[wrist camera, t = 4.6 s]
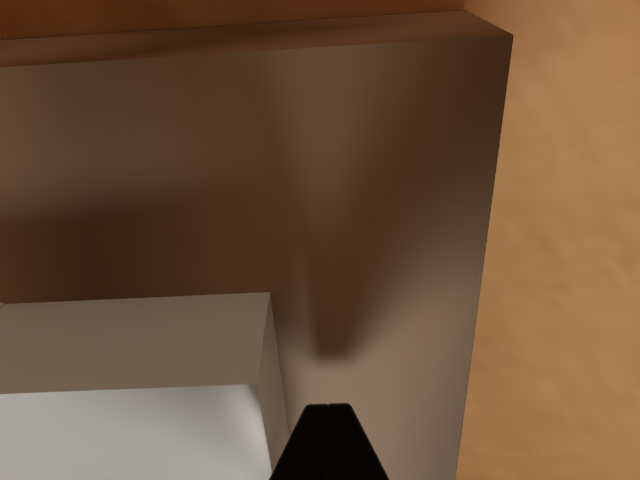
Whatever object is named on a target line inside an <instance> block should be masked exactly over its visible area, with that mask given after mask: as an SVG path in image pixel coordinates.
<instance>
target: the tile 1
mask: <svg viewBox="0 0 640 480" xmlns="http://www.w3.org/2000/svg"><path fill="white" fill-rule="evenodd" d="M289 438H290V436H289V428H288V421H287V414H286V406H285V399H284V392H283V384H282V377H281V370H280V363H279V355H278V348H277V341H276V333H275V326H274V319H273V311H272V304H271V297H270V292H260V293H238V294H216V295H194V296H172V297H150V298H128V299H105V300H83V301H61V302H39V303H17V304H5V305H4V306H3V307H2V308H1V309H0V480H269V478H270V476H271V474H272V472H273V470H274V468H275V466H276V464H277V462H278V460H279V458H280V456H281V454H282V452H283V450H284V448H285V446H286V444H287V442H288V440H289Z"/></svg>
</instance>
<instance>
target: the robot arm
mask: <svg viewBox="0 0 640 480" xmlns="http://www.w3.org/2000/svg"><path fill="white" fill-rule="evenodd" d="M269 480H389V478H388V476H387V474H386V472H385V470H384V468H383V466H382V464H381V462H380V460H379V458H378V456H377V454H376V452H375V450H374V449H373V447H372V445H371V443H370V441H369V439H368V437H367V435H366V433H365V431H364V429H363V427H362V425H361V423H360V421H359V419H358V417H357V415H356V413H355V412H354V410H353V408H352V406H351V405H350V404H349V403H330V404H326V403H323V404H308V405H306V406H305V408H304V409H303V411H302V413H301V415H300V417H299V419H298V422H297V424H296V426H295V428H294V430H293V432H292V434H291V436H290V438H289V440H288V442H287V444H286V446H285V448H284V450H283V452H282V454H281V456H280V458H279V460H278V462H277V464H276V466H275V468H274V470H273V472H272V474H271V476H270V478H269Z"/></svg>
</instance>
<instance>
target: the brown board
mask: <svg viewBox="0 0 640 480" xmlns="http://www.w3.org/2000/svg"><path fill="white" fill-rule="evenodd" d="M512 43H513V35H512V34H511V33H509V32H507V31H505V30H503V29H501V28H499V27H497V26H495V25H493V24H491V23H489V22H487V21H485V20H483V19H481V18H479V17H477V16H475V15H473V14H471V13H469V12H467V11H465V10H457V11H442V12H426V13H411V14H395V15H380V16H364V17H349V18H333V19H318V20H303V21H287V22H272V23H256V24H241V25H225V26H210V27H194V28H179V29H164V30H148V31H133V32H117V33H102V34H86V35H71V36H55V37H40V38H24V39H9V40H0V303H3V302H4V304H17V303H39V302H61V301H83V300H105V299H128V298H150V297H172V296H194V295H216V294H238V293H260V292H270V297H271V304H272V311H273V319H274V326H275V333H276V341H277V348H278V355H279V363H280V370H281V377H282V384H283V392H284V399H285V406H286V414H287V421H288V428H289V436H291V434H292V432H293V430H294V428H295V426H296V424H297V422H298V419H299V417H300V415H301V413H302V411H303V409H304V408H305V406H306V405H308V404H323V403H326V404H330V403H349V404H350V405H351V406H352V408H353V410H354V412H355V413H356V415H357V417H358V419H359V421H360V423H361V425H362V427H363V429H364V431H365V433H366V435H367V437H368V439H369V441H370V443H371V445H372V447H373V449H374V450H375V452H376V454H377V456H378V458H379V460H380V462H381V464H382V466H383V468H384V470H385V472H386V474H387V476H388V478H389V480H455V479H456V471H457V463H458V456H459V448H460V440H461V433H462V425H463V417H464V410H465V402H466V394H467V387H468V379H469V372H470V364H471V356H472V349H473V341H474V333H475V326H476V318H477V310H478V303H479V295H480V287H481V280H482V272H483V265H484V257H485V249H486V242H487V234H488V226H489V219H490V211H491V203H492V196H493V188H494V180H495V173H496V165H497V157H498V150H499V142H500V135H501V127H502V119H503V112H504V104H505V96H506V89H507V81H508V73H509V66H510V58H511V50H512Z"/></svg>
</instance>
